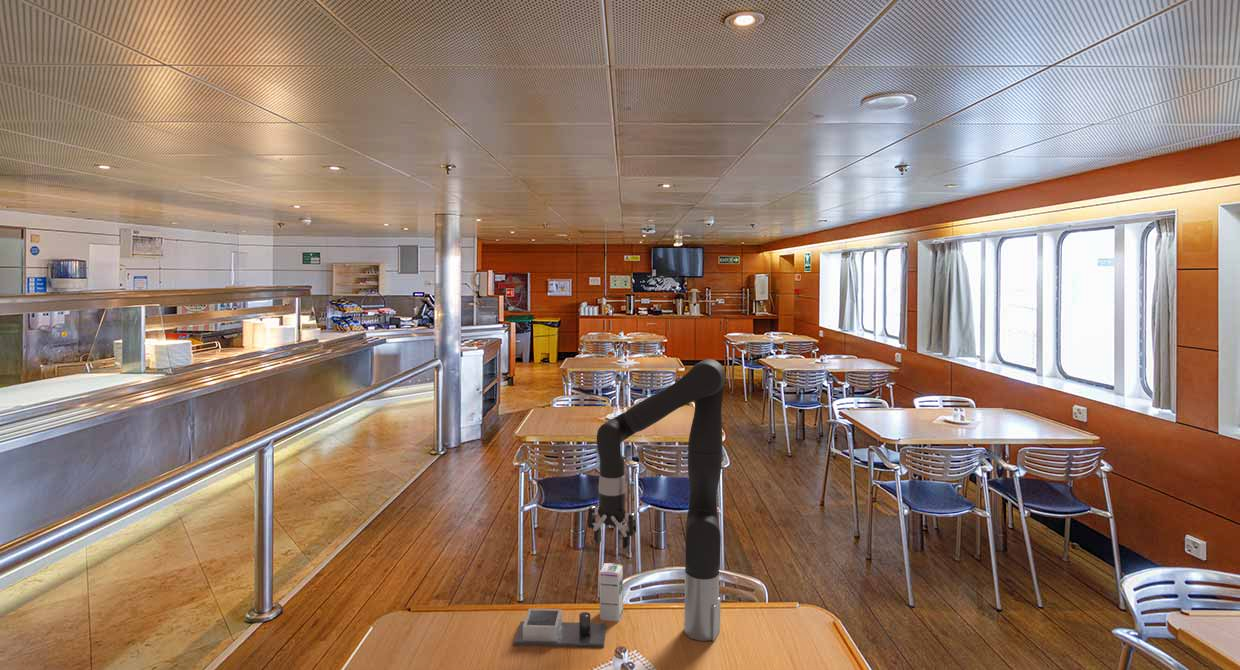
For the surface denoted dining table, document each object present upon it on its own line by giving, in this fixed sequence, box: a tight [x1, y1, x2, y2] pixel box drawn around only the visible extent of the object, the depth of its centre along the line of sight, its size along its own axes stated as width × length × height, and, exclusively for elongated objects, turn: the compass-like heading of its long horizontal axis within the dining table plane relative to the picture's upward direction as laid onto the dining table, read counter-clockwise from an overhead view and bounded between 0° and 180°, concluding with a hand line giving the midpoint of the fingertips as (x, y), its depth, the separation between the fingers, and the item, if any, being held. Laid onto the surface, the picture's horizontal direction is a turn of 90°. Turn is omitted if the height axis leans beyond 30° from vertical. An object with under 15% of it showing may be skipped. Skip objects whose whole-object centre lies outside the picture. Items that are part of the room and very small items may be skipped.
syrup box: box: [598, 562, 624, 623], centre depth 180 cm, size 6×6×14 cm
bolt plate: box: [513, 608, 607, 648], centre depth 171 cm, size 24×10×6 cm, turn 88°
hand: (611, 545), depth 179 cm, fingers open, 8 cm apart
